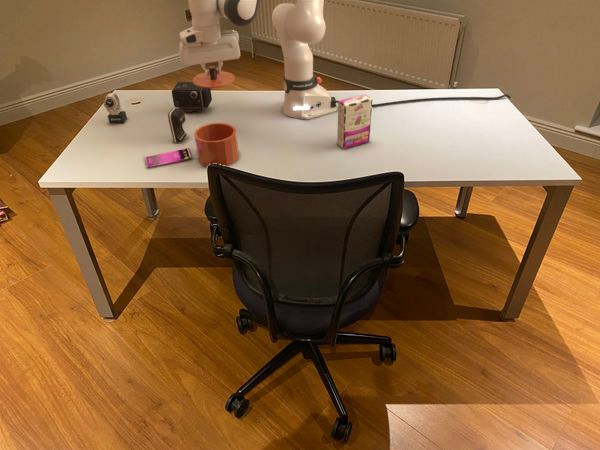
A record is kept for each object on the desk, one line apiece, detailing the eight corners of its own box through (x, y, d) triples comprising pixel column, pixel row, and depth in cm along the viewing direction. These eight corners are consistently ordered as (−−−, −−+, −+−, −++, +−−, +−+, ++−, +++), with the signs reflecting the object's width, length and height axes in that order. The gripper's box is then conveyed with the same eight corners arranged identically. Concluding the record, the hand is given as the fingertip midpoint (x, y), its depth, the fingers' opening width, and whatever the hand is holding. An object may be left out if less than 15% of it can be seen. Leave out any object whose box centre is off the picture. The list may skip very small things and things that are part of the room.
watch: (108, 125, 171) (99, 98, 164) (115, 116, 178) (107, 90, 171) (122, 125, 171) (114, 98, 164) (129, 116, 177) (121, 90, 170)
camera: (175, 118, 178) (211, 114, 176) (167, 91, 171) (204, 87, 169) (182, 107, 186) (216, 103, 184) (174, 81, 179) (209, 77, 177)
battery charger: (183, 144, 159) (177, 114, 152) (173, 143, 159) (166, 114, 152) (189, 134, 164) (184, 106, 157) (180, 134, 165) (174, 105, 157)
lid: (229, 71, 160) (227, 57, 157) (239, 85, 150) (238, 71, 146) (189, 77, 156) (187, 63, 153) (197, 92, 146) (194, 77, 142)
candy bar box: (361, 136, 161) (365, 93, 151) (369, 142, 158) (373, 98, 147) (335, 143, 157) (337, 100, 147) (343, 149, 154) (345, 105, 143)
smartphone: (192, 159, 150) (192, 157, 149) (148, 168, 146) (147, 166, 145) (189, 149, 155) (188, 147, 155) (146, 158, 151) (145, 155, 151)
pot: (233, 144, 158) (230, 120, 152) (243, 162, 148) (240, 137, 142) (195, 151, 154) (191, 127, 148) (203, 170, 145) (198, 145, 139)
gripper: (235, 26, 148) (239, 67, 156) (174, 33, 142) (182, 75, 151) (240, 31, 143) (244, 73, 152) (177, 39, 138) (185, 82, 146)
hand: (213, 74), depth 151 cm, fingers closed on lid, 2 cm apart
